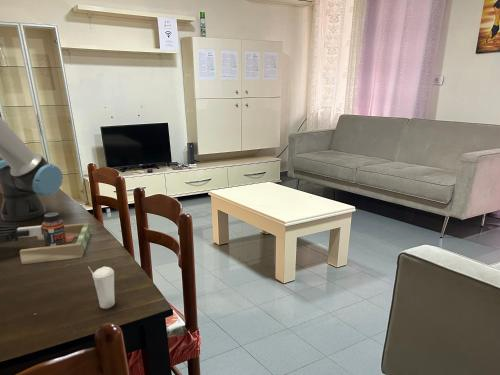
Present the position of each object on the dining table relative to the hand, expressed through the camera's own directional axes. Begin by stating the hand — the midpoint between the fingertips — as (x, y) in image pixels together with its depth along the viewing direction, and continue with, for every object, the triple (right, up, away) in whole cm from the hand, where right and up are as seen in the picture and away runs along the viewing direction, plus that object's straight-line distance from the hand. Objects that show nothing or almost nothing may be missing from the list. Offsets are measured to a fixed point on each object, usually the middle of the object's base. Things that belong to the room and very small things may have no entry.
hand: (42, 230), depth 112 cm
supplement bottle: (+3, -6, +3) cm, 7 cm away
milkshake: (+31, -14, -28) cm, 44 cm away
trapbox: (+4, -6, +3) cm, 8 cm away
